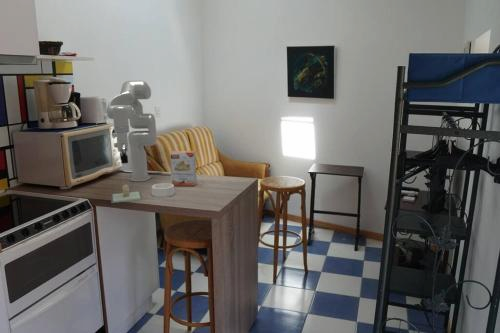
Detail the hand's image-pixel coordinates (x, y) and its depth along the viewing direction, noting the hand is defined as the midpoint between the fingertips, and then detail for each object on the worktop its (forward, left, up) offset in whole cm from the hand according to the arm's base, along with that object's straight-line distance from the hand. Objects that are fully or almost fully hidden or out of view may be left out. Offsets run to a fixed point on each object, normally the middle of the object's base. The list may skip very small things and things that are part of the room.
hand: (124, 161), depth 223 cm
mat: (0, 0, -21) cm, 21 cm away
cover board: (0, 0, -20) cm, 20 cm away
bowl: (0, +20, -21) cm, 29 cm away
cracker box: (-16, +35, -21) cm, 44 cm away
